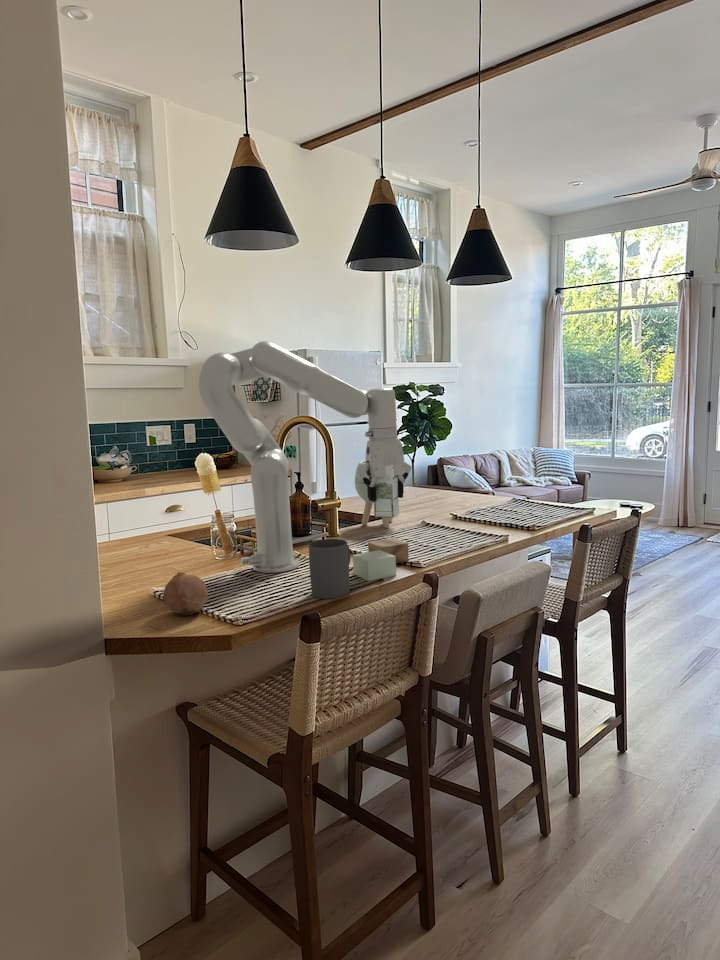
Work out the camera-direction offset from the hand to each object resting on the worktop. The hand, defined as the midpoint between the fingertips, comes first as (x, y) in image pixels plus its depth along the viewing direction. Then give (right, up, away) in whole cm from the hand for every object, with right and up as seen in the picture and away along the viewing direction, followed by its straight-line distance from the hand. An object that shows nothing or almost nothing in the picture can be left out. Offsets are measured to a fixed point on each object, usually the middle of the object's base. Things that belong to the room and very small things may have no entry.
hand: (386, 498), depth 178 cm
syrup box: (0, -5, +1) cm, 5 cm away
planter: (0, -11, +50) cm, 51 cm away
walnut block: (+1, -17, +2) cm, 17 cm away
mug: (-13, -21, -23) cm, 34 cm away
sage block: (-3, -19, -11) cm, 22 cm away
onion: (-45, -24, -34) cm, 62 cm away
